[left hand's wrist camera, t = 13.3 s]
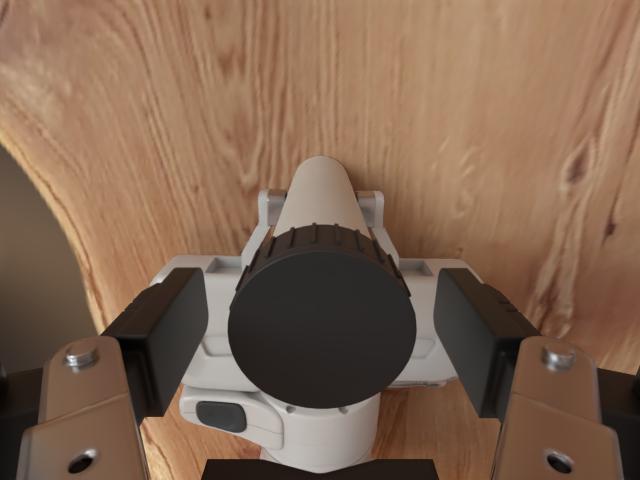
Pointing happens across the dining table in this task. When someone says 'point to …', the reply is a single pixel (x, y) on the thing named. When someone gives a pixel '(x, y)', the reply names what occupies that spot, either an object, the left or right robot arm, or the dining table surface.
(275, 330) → the lid
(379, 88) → the dining table surface
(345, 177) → the bottle
